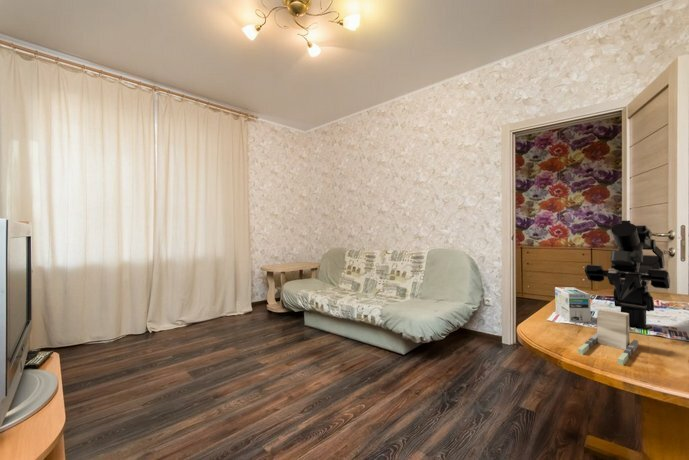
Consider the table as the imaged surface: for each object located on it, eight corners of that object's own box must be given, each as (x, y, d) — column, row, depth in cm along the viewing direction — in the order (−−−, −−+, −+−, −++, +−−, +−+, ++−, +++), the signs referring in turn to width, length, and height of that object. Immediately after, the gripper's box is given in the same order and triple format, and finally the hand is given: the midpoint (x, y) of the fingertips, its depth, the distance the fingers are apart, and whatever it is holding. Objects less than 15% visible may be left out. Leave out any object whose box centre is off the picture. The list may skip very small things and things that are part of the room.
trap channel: (597, 339, 92) (597, 332, 92) (638, 348, 85) (638, 340, 85) (578, 357, 81) (578, 348, 81) (623, 369, 74) (623, 360, 74)
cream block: (601, 339, 89) (601, 308, 89) (629, 345, 85) (629, 313, 84) (597, 343, 87) (597, 311, 87) (626, 350, 82) (625, 316, 82)
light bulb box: (591, 325, 103) (591, 293, 103) (569, 325, 105) (568, 293, 104) (574, 315, 114) (574, 286, 113) (554, 315, 115) (553, 286, 115)
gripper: (585, 240, 100) (575, 278, 94) (668, 241, 86) (661, 287, 79) (593, 260, 106) (583, 299, 99) (672, 266, 91) (667, 311, 84)
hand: (620, 298), depth 90 cm, fingers closed
